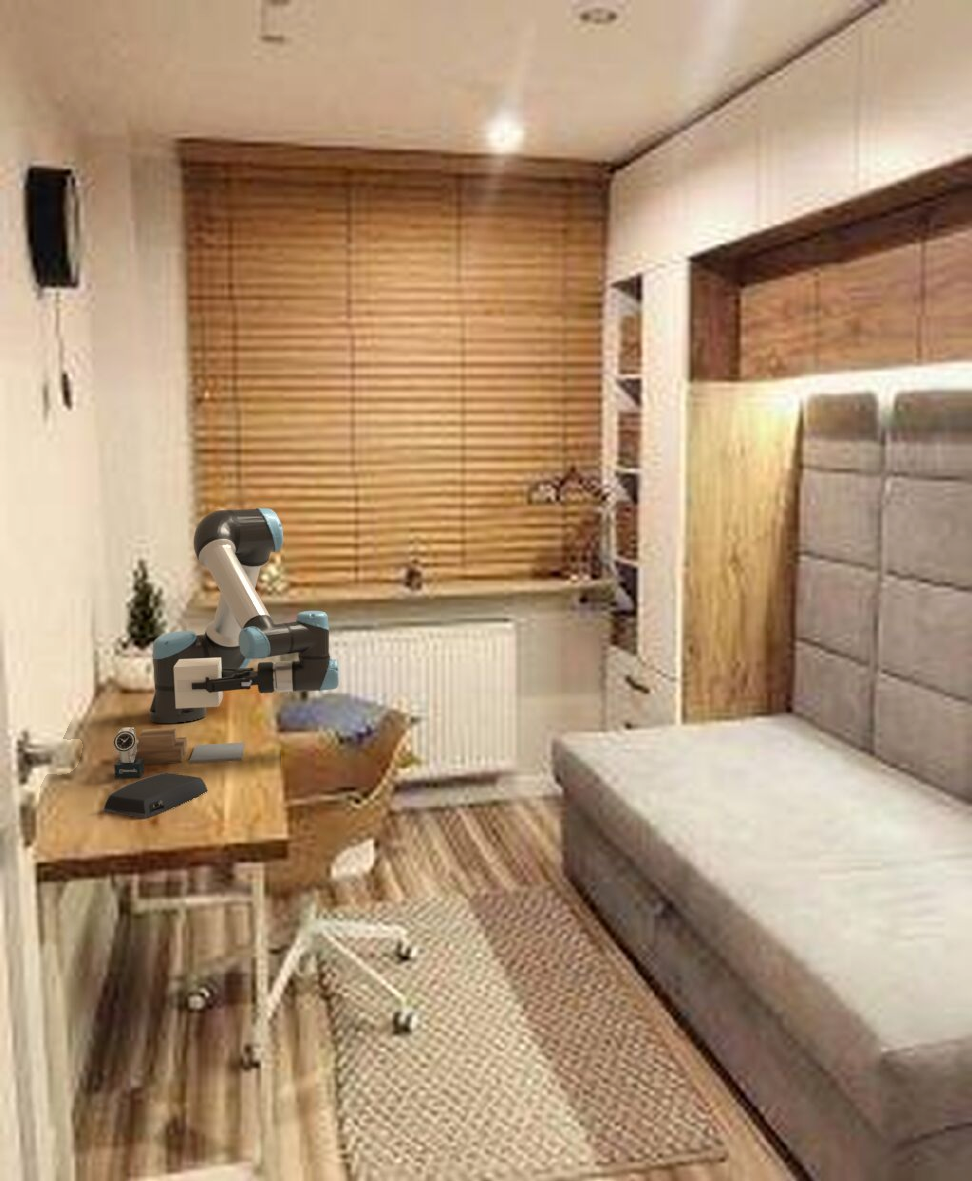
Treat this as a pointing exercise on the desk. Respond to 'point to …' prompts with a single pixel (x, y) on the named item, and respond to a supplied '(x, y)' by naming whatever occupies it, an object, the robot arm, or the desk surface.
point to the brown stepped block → (160, 746)
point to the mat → (217, 752)
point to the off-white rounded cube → (197, 670)
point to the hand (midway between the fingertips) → (180, 681)
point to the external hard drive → (154, 795)
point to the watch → (127, 754)
